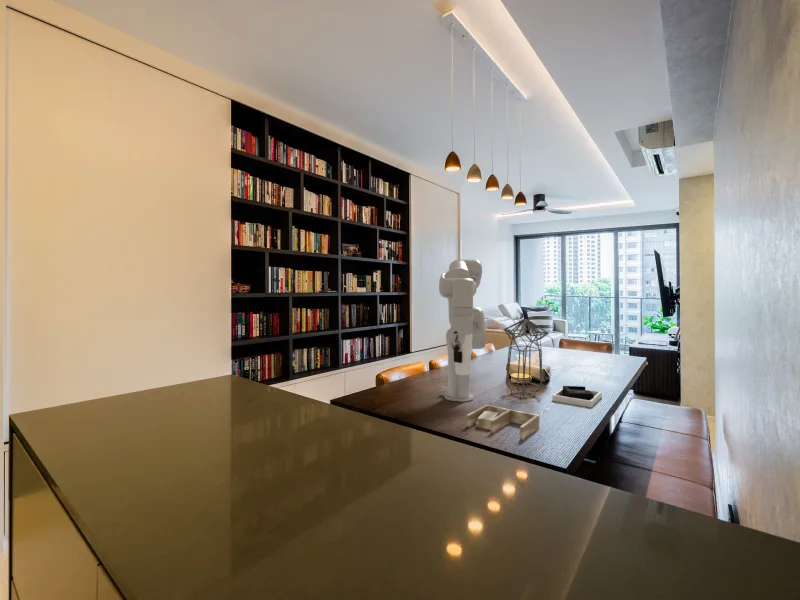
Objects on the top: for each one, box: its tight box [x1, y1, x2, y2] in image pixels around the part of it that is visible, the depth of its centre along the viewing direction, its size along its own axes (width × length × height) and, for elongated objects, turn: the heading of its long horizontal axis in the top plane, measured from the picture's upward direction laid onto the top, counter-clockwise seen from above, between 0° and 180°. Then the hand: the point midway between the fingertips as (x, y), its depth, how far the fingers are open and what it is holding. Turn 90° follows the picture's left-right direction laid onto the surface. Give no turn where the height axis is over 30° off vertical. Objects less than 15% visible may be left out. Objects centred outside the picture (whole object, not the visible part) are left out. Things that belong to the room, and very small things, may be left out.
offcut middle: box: [475, 421, 491, 431], centre depth 138 cm, size 6×10×2 cm, turn 147°
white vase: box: [455, 334, 473, 375], centre depth 144 cm, size 7×7×15 cm
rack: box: [466, 404, 540, 441], centre depth 135 cm, size 20×15×5 cm
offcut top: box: [478, 411, 499, 425], centre depth 138 cm, size 5×9×2 cm, turn 151°
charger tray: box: [551, 387, 603, 408], centre depth 171 cm, size 16×19×2 cm
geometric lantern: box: [502, 318, 550, 400], centre depth 176 cm, size 16×16×35 cm
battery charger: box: [562, 385, 594, 401], centre depth 171 cm, size 13×10×4 cm
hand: (462, 360), depth 144 cm, fingers closed on white vase, 6 cm apart
